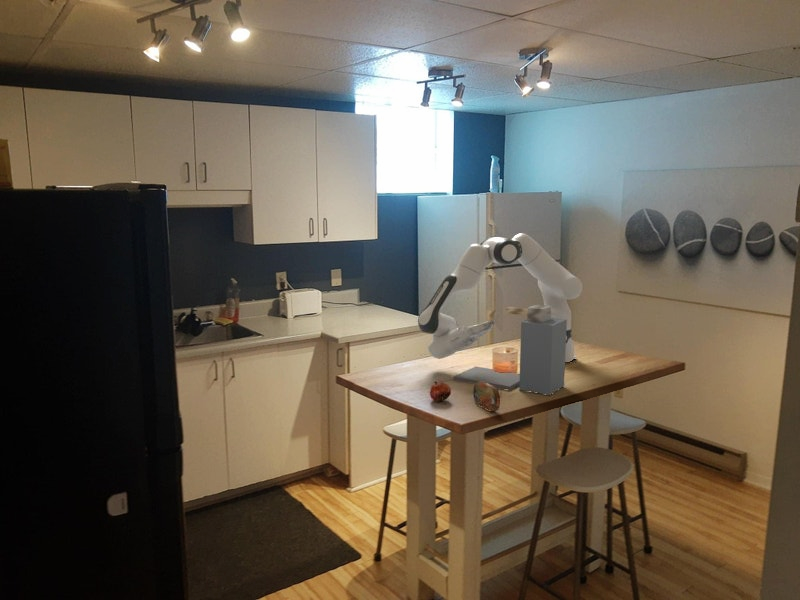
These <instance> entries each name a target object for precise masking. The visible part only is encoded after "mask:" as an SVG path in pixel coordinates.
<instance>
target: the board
mask: <svg viewBox="0 0 800 600" xmlns="http://www.w3.org/2000/svg"><path fill="white" fill-rule="evenodd" d="M453 380H454V381H457V382H463V383H468V384H474V385H475V383H476V382H478V381H479V382H487V383H488V384H490V385H492V386H494V387H496V388H497V389H499V388H500V389H501V390H504V389H508V390H507V391H511V390H513V389H514V388H513V387H515V386H516V387H518V386H519V381H520V373H517V372H512V373H499V372H495V371H493V369H492V368H487V367H481V366H473V367H471V368H469V369H467V370H465V371H463V372H459V374H456V375H453ZM517 385H518V386H517ZM516 387H515V388H516ZM512 388H513V389H512ZM510 389H511V390H510Z"/></svg>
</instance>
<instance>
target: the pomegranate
mask: <svg viewBox="0 0 800 600" xmlns="http://www.w3.org/2000/svg"><path fill="white" fill-rule="evenodd" d="M433 383H434V384H433V385H432V386H431V388H430V391H429V397H430V398H431V400H432V401H433V402H436V403H437V402H441V401H442V402H443V404H444V405H446V404H445V401H446V400H447V399H448V398H449V397H450V396H451V394H452V388H451V387H450V385H448V384H447V383H445V382H443V381H439V382H437V381H436V380H435V381H434V382H433Z"/></svg>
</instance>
